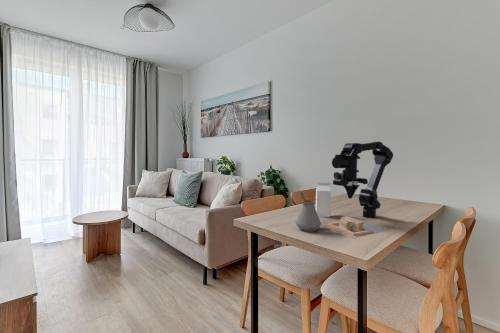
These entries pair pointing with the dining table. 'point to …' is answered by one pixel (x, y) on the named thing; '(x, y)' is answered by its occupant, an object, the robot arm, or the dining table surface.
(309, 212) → the coffee pot
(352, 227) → the t block
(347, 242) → the dining table surface
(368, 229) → the board
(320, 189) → the milk carton
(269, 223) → the dining table surface
